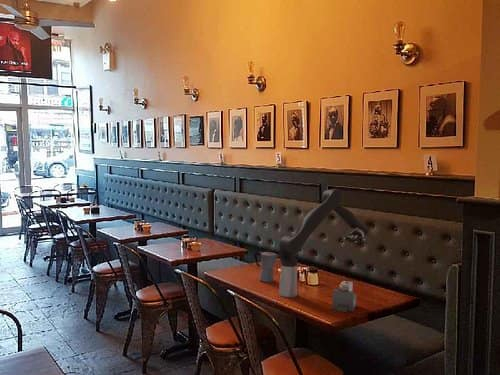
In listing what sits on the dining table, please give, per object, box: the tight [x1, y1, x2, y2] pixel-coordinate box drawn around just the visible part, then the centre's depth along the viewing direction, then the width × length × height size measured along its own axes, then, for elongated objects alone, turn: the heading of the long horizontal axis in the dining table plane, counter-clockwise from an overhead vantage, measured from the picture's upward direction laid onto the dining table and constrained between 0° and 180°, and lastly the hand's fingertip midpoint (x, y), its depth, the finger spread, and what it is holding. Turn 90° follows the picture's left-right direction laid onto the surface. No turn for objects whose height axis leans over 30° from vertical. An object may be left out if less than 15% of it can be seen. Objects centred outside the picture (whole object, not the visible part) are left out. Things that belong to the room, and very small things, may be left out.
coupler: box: [331, 284, 357, 313], centre depth 244 cm, size 10×12×12 cm
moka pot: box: [253, 249, 279, 283], centre depth 295 cm, size 10×15×20 cm, turn 81°
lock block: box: [338, 280, 354, 291], centre depth 247 cm, size 5×10×12 cm, turn 157°
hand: (352, 241), depth 261 cm, fingers closed
